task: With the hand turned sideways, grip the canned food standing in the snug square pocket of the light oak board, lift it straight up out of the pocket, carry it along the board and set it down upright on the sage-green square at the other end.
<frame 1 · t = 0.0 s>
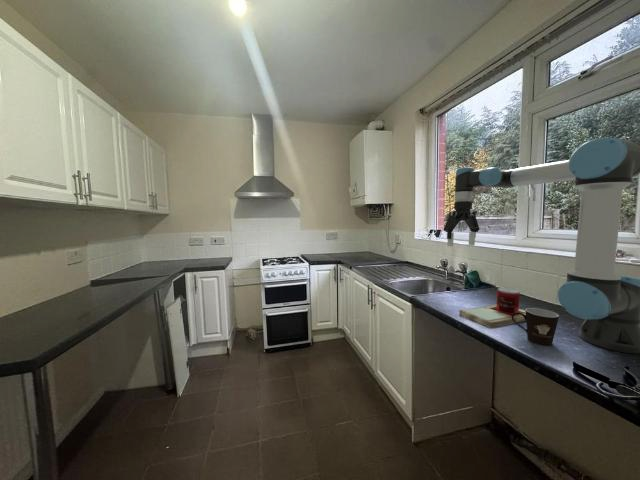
hand: (461, 245, 127), 28 cm above the worktop, tool pointing down, fingers open, 13 cm apart
coffee mug: (533, 340, 90), on the worktop
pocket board: (496, 316, 111), on the worktop
canned food: (506, 315, 113), resting in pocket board
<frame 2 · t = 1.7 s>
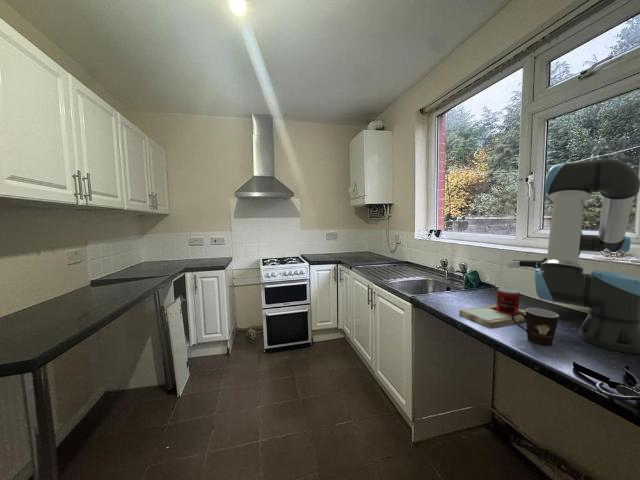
hand: (524, 267, 114), 20 cm above the worktop, tool horizontal, fingers open, 13 cm apart
nothing on the worktop moved.
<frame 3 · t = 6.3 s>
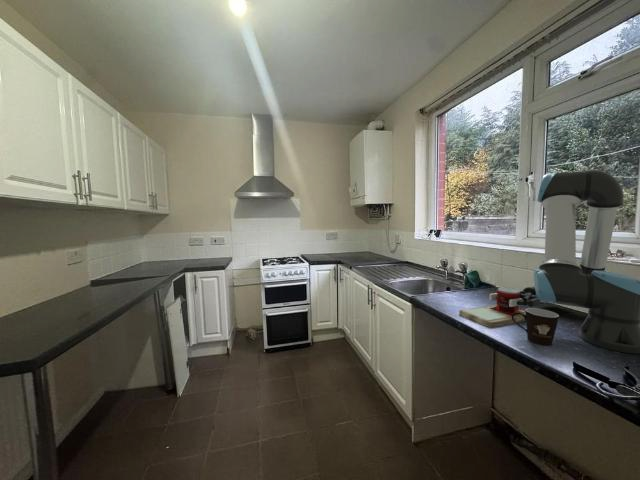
hand: (499, 300, 110), 7 cm above the worktop, tool horizontal, fingers closed on canned food, 8 cm apart
canned food: (506, 315, 113), resting in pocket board, touching gripper
everything else where it was.
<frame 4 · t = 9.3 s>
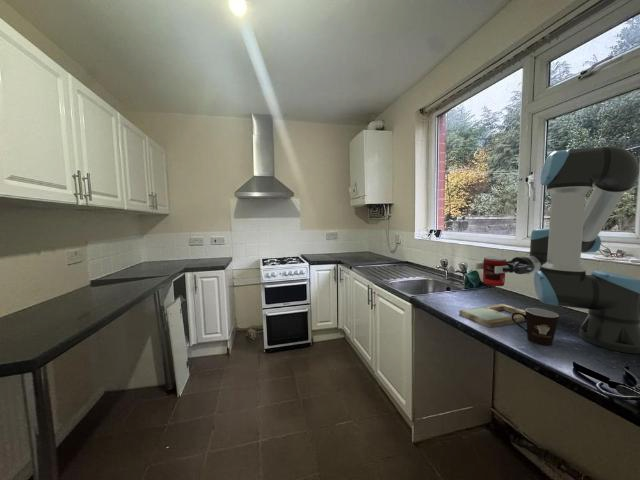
hand: (485, 267, 108), 21 cm above the worktop, tool horizontal, fingers closed on canned food, 8 cm apart
canned food: (493, 284, 110), point 14 cm above the worktop, touching gripper
everything else where it was.
when the fingers open (11 cm above the worktop, at t = 12.3 s): canned food drops 1 cm, resting on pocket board.
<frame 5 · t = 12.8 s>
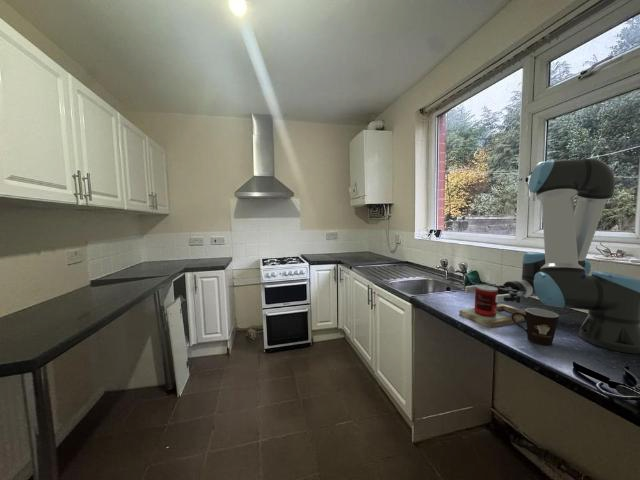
hand: (480, 294, 106), 11 cm above the worktop, tool horizontal, fingers open, 13 cm apart
canned food: (484, 314, 108), point 2 cm above the worktop, touching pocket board
everything else where it was.
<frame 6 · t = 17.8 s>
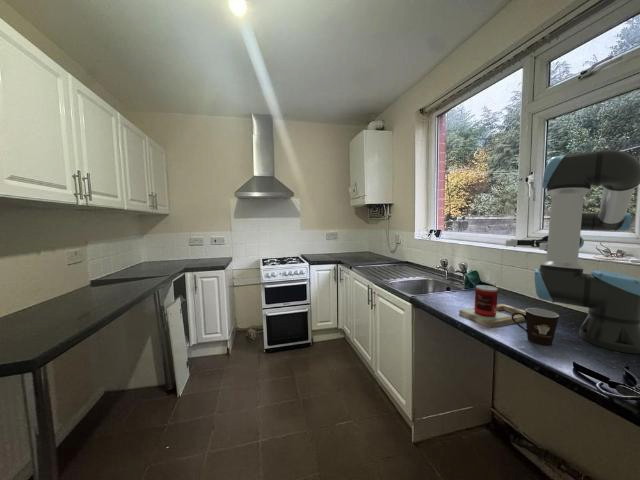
hand: (522, 244, 112), 30 cm above the worktop, tool horizontal, fingers open, 13 cm apart
nothing on the worktop moved.
at the end: canned food 0.1 cm from the target spot on the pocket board, point 2.0 cm above the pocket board's base; canned food tilted 0°; the gripper is holding nothing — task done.
